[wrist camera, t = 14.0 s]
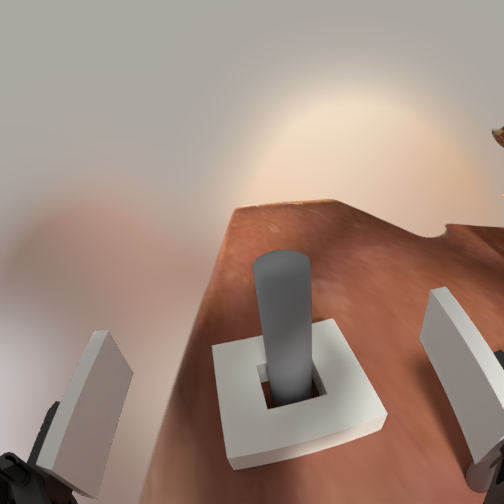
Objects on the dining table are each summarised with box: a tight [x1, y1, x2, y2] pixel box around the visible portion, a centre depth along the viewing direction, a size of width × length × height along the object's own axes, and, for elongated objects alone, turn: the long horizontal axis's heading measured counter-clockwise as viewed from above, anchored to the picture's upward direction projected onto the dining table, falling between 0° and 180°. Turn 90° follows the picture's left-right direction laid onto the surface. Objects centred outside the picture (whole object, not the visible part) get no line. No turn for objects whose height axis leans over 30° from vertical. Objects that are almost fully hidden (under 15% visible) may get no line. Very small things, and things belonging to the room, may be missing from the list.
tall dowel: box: [253, 250, 312, 408], centre depth 25 cm, size 4×4×16 cm
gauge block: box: [212, 318, 387, 470], centre depth 29 cm, size 14×14×3 cm
